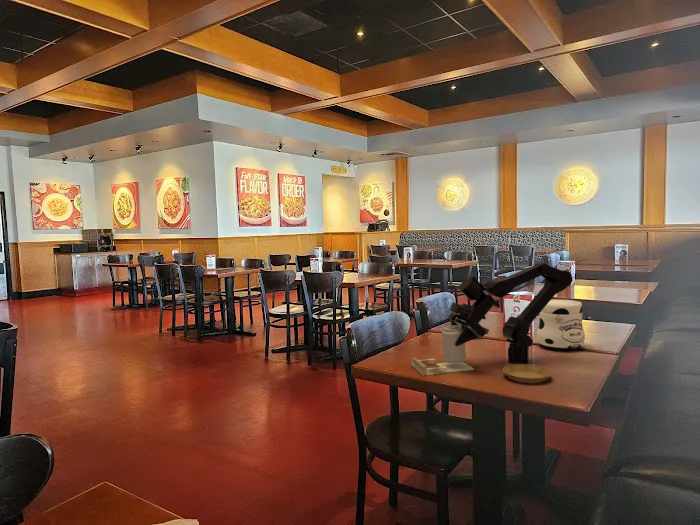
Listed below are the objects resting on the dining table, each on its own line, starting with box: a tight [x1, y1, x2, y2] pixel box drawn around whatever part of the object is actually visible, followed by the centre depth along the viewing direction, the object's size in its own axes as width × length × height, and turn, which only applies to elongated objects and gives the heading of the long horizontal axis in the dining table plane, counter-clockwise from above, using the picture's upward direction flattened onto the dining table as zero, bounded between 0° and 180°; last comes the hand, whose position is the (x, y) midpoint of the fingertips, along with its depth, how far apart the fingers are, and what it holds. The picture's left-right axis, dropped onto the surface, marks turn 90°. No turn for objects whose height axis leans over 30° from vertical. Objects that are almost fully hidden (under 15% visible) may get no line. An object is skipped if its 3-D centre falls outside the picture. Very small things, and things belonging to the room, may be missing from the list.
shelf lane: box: [411, 357, 448, 377], centre depth 168 cm, size 8×12×3 cm
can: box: [441, 325, 467, 363], centre depth 169 cm, size 8×8×12 cm
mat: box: [435, 361, 475, 373], centre depth 170 cm, size 10×10×1 cm
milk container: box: [536, 299, 586, 351], centre depth 192 cm, size 17×17×18 cm
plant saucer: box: [502, 363, 553, 384], centre depth 156 cm, size 15×15×3 cm
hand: (450, 342), depth 169 cm, fingers closed on can, 7 cm apart
